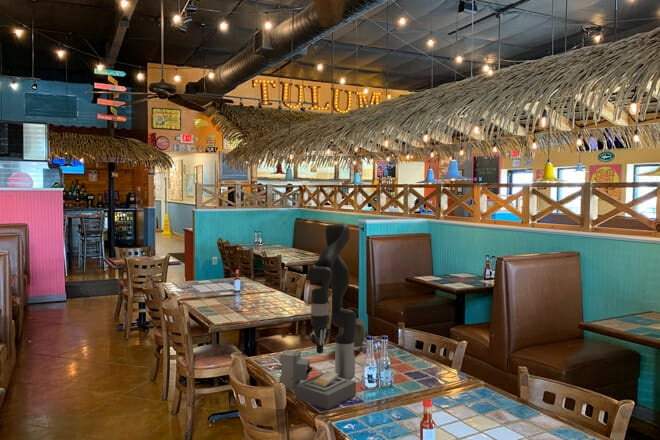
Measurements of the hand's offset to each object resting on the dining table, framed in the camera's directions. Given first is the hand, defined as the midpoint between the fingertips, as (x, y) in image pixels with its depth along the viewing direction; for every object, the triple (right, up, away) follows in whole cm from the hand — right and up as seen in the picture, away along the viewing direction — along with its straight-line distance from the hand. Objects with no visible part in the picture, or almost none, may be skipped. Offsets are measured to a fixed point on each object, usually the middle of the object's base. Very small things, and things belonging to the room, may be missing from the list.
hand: (319, 352), depth 218 cm
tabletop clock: (+17, -18, +73) cm, 77 cm away
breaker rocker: (+3, -13, +4) cm, 13 cm away
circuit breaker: (-11, -20, +19) cm, 30 cm away
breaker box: (+3, -21, +4) cm, 21 cm away
